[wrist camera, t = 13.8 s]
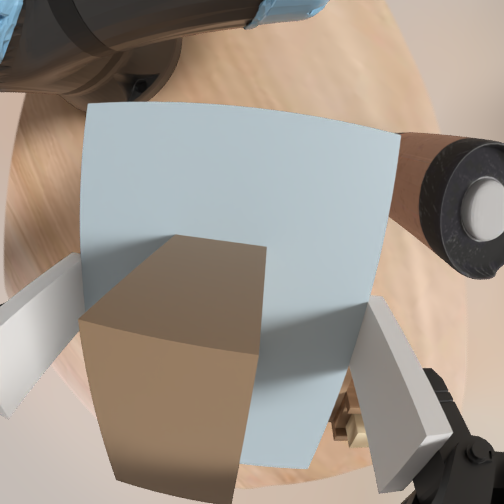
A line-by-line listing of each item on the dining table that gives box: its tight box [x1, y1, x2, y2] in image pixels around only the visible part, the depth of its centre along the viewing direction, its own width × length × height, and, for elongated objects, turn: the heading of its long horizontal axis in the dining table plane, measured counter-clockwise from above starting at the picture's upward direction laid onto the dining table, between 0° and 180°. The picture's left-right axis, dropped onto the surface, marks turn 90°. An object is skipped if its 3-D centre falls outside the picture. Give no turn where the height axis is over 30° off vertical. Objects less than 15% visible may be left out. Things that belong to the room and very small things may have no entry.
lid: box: [78, 102, 401, 504], centre depth 10 cm, size 16×11×8 cm
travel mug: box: [389, 132, 504, 280], centre depth 22 cm, size 8×8×20 cm
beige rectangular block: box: [346, 414, 369, 448], centre depth 31 cm, size 3×11×3 cm, turn 83°
